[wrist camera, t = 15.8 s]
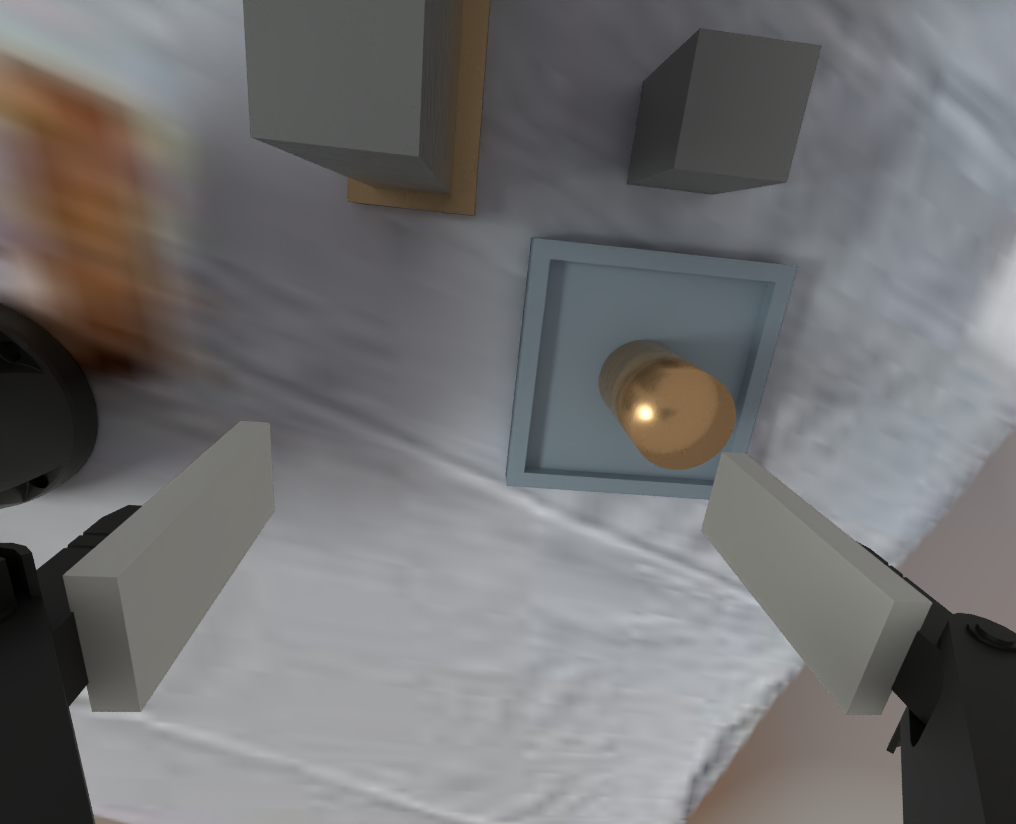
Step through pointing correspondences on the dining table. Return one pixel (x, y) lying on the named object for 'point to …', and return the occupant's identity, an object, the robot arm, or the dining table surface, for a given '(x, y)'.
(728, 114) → the charcoal block
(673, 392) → the copper cylinder
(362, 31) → the box
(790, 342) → the dining table surface
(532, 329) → the slate tray
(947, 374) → the dining table surface
